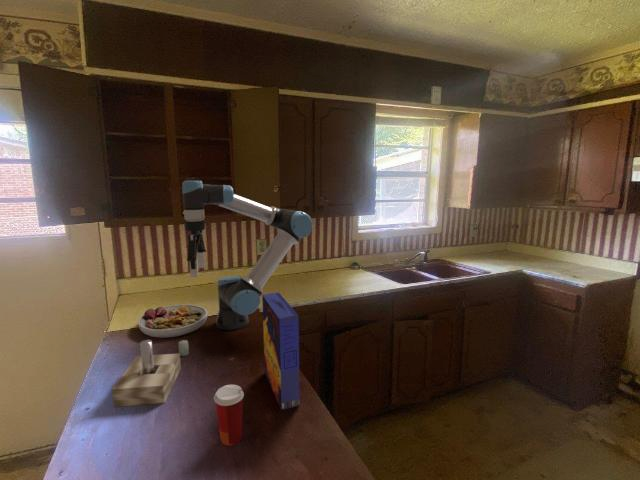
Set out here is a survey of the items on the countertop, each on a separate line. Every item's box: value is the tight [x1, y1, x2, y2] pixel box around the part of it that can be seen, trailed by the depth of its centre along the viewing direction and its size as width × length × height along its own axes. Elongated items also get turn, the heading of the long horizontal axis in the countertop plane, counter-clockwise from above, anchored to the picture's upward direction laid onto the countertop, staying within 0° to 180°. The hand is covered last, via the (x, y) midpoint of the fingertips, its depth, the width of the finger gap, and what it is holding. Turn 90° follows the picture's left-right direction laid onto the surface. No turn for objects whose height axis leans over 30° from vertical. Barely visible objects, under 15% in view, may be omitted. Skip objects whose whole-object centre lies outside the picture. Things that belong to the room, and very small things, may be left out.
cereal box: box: [261, 292, 301, 411], centre depth 115 cm, size 22×6×30 cm, turn 22°
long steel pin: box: [139, 339, 155, 375], centre depth 117 cm, size 4×4×16 cm
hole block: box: [111, 352, 182, 408], centre depth 118 cm, size 15×20×6 cm
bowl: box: [138, 304, 208, 339], centre depth 165 cm, size 30×30×8 cm
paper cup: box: [213, 384, 245, 447], centre depth 94 cm, size 8×8×14 cm
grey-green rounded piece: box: [177, 339, 190, 357], centre depth 139 cm, size 4×4×5 cm
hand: (198, 272), depth 141 cm, fingers open, 13 cm apart
